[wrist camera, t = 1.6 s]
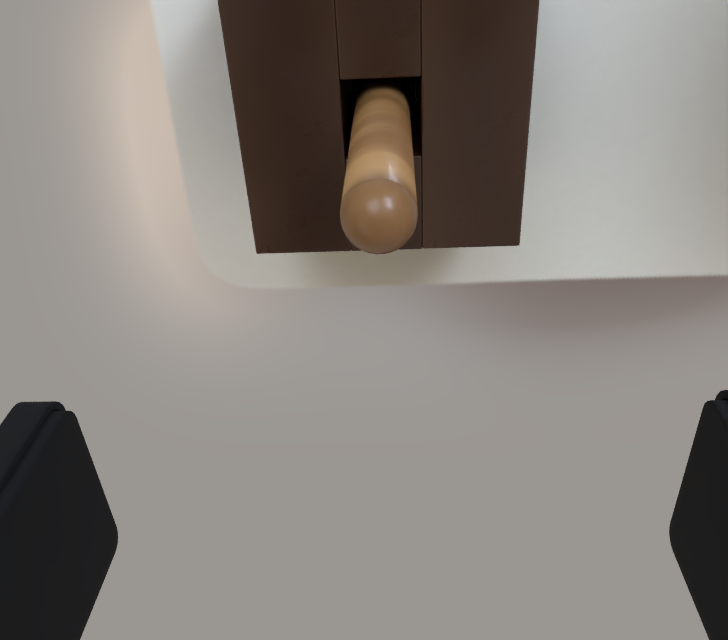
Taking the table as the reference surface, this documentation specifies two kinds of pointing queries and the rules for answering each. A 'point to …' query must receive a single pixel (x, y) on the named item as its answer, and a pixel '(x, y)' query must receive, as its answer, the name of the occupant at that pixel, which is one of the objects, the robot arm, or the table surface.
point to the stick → (380, 169)
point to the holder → (427, 115)
